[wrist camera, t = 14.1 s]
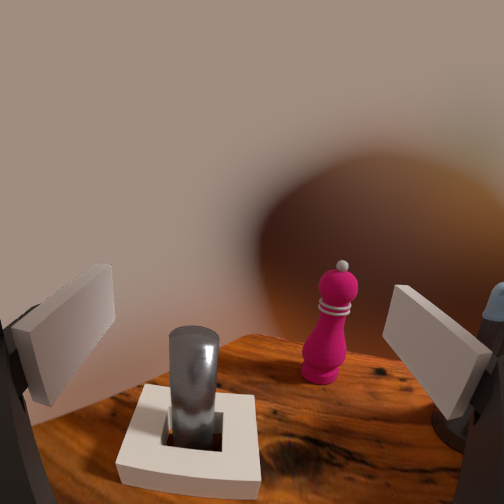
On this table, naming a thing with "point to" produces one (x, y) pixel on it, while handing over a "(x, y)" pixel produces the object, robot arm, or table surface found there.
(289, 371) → the table surface
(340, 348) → the pepper mill
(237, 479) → the socket block
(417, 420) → the table surface
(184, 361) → the peg
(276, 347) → the table surface
